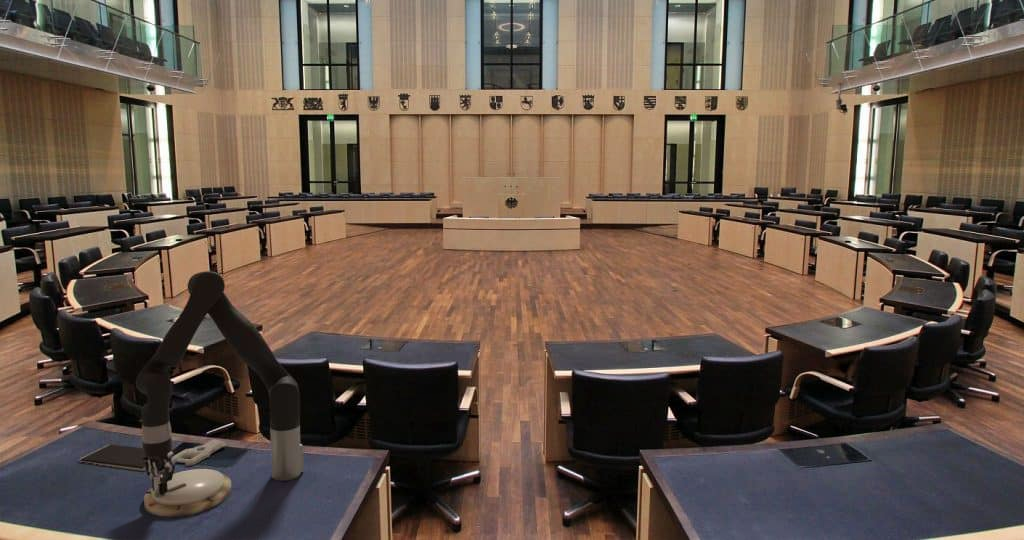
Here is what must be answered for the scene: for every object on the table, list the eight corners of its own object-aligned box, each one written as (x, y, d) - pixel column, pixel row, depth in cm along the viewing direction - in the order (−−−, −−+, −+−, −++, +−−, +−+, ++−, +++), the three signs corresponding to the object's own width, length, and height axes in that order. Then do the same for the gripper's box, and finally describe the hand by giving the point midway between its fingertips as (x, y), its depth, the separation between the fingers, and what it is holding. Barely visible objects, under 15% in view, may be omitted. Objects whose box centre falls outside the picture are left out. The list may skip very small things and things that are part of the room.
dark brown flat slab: (110, 447, 227) (109, 443, 227) (174, 455, 222) (174, 451, 221) (77, 464, 214) (77, 459, 214) (145, 472, 209) (145, 467, 208)
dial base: (203, 470, 210) (202, 463, 210) (247, 490, 198) (247, 483, 197) (128, 500, 190) (127, 492, 190) (172, 525, 177) (172, 517, 177)
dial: (203, 467, 207) (201, 446, 206) (237, 486, 196) (236, 463, 195) (139, 491, 191) (137, 468, 190) (172, 512, 180) (170, 488, 179)
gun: (206, 434, 231) (228, 438, 228) (207, 443, 231) (229, 447, 228) (166, 457, 214) (189, 462, 211) (166, 466, 215) (189, 471, 212)
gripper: (182, 438, 183) (185, 493, 186) (156, 427, 190) (159, 480, 193) (157, 447, 177) (160, 504, 179) (130, 435, 184) (134, 490, 187)
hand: (160, 491), depth 186 cm, fingers closed on dial, 3 cm apart
